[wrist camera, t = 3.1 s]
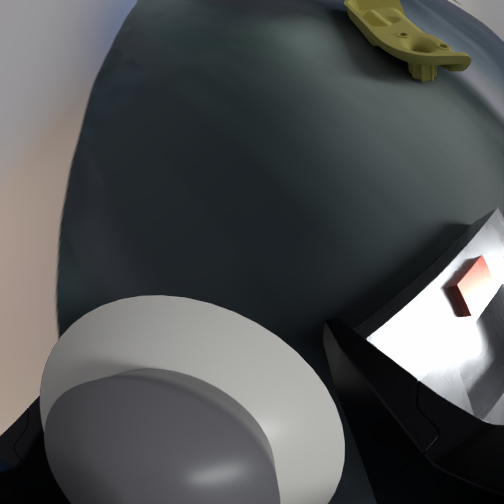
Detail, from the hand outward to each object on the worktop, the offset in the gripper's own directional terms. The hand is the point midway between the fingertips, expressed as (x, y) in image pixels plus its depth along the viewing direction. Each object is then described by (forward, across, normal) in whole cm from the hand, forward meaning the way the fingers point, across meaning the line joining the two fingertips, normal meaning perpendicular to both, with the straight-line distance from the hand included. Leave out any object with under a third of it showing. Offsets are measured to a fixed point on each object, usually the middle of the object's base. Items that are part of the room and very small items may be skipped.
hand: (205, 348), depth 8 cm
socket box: (+1, -15, +8) cm, 17 cm away
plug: (+4, 0, +6) cm, 7 cm away
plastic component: (+25, -24, -15) cm, 37 cm away
